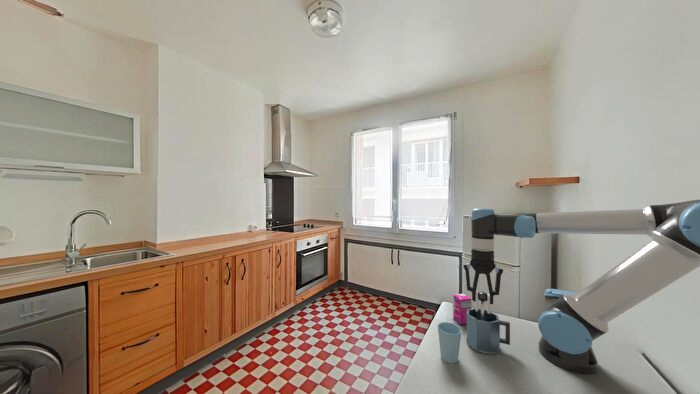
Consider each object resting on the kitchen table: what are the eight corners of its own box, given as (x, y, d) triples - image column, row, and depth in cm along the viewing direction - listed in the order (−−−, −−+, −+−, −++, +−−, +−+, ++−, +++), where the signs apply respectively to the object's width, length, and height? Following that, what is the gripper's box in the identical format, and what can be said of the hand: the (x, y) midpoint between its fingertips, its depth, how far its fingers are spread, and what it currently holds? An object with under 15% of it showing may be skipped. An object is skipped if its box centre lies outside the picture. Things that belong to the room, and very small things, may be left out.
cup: (466, 361, 79) (466, 330, 80) (450, 368, 76) (449, 336, 76) (448, 348, 86) (448, 320, 86) (433, 354, 83) (433, 324, 83)
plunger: (494, 332, 90) (494, 291, 90) (496, 344, 83) (496, 299, 83) (469, 327, 94) (469, 287, 94) (470, 338, 86) (470, 295, 87)
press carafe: (507, 343, 89) (507, 313, 90) (512, 361, 80) (512, 327, 80) (466, 334, 95) (466, 306, 96) (466, 349, 86) (466, 318, 86)
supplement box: (452, 318, 108) (452, 294, 108) (463, 317, 109) (463, 293, 109) (460, 325, 102) (460, 299, 102) (472, 324, 103) (472, 298, 104)
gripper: (506, 249, 89) (506, 311, 88) (459, 245, 96) (458, 302, 95) (509, 253, 82) (509, 320, 82) (458, 248, 89) (458, 310, 89)
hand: (482, 310), depth 88 cm, fingers closed on plunger, 3 cm apart
